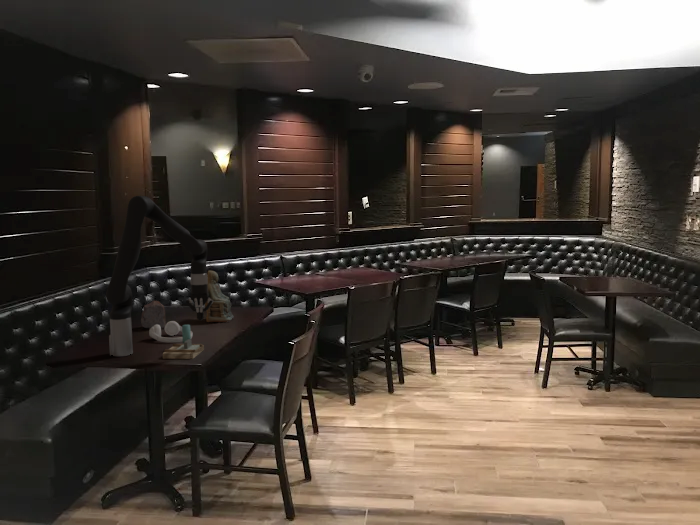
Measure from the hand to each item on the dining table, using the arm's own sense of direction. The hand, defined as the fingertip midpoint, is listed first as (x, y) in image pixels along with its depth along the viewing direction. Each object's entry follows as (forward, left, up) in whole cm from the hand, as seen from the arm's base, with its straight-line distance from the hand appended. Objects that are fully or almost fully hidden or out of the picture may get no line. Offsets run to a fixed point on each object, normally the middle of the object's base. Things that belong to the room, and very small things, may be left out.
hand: (200, 320), depth 270 cm
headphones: (-25, +30, -17) cm, 42 cm away
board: (-9, 0, -16) cm, 18 cm away
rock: (-44, +56, -16) cm, 73 cm away
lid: (-7, 0, -14) cm, 15 cm away
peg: (-11, +11, -16) cm, 23 cm away
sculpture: (-14, +76, -16) cm, 79 cm away
